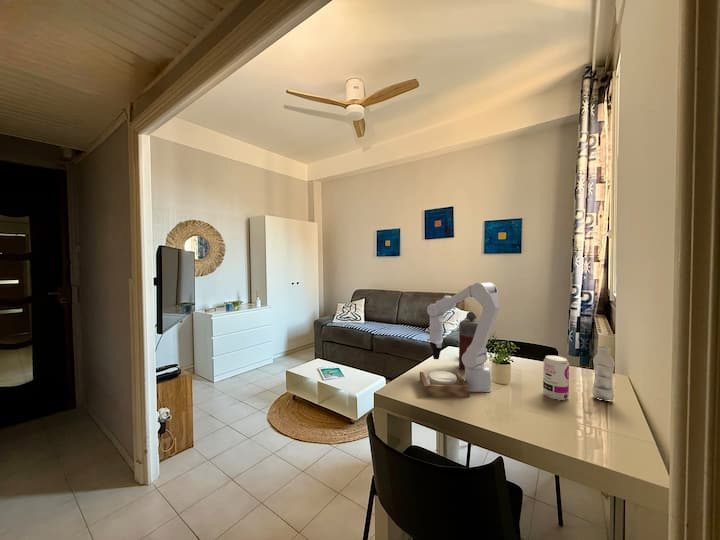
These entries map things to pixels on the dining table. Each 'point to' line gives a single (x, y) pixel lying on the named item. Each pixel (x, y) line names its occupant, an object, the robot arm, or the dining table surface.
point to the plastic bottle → (603, 374)
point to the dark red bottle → (466, 335)
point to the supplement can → (556, 377)
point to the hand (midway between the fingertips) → (436, 358)
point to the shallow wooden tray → (445, 388)
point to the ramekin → (442, 378)
